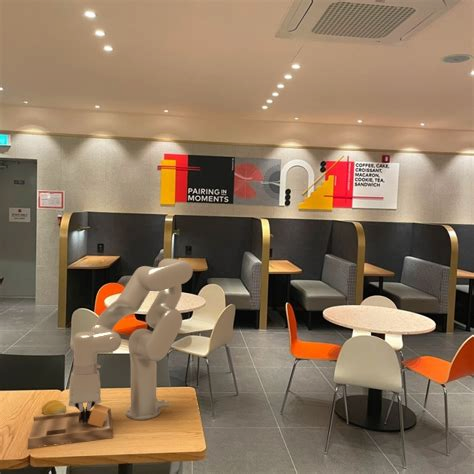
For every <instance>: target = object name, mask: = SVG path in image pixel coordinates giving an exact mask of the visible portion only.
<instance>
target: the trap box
mask: <svg viewBox="0 0 474 474" xmlns="http://www.w3.org/2000/svg"><path fill="white" fill-rule="evenodd" d="M108 408H109V410H108V412H107V415H106V418H105V420H104V423H103V426H102V427H98V426H95V425H92V424H89V423H88V421H89V419H87V423H86V422H84V423H83V420H81V412H80V411H74V412H64V413H63V414H54V415H45V414H44V415H38V416H37V415H35V416H33V422H32V426H31V430H30V433H29V437H28V438H27V449H28V450H29V449H36V448H35V447H38V448H40V447H39V446H44V445H54V444H62V443H70V442H77V443H84V442H83V441H85V442H91V440H93V441H99V440H100V441H101V440H107V439H113V438H114V436H113V435H114V433H113V432H114V431H113V429H114V427H113V420H112V409H111V407H108ZM92 410H93V409H92ZM92 410H91V409H90V415H91V412H92ZM70 444H71V443H70ZM62 445H63V444H62ZM54 446H55V445H54Z"/></svg>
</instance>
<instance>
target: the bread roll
mask: <svg viewBox="0 0 474 474" xmlns="http://www.w3.org/2000/svg"><path fill="white" fill-rule="evenodd" d="M66 411H67V405H66V404H65V403H63V402H62V401H60V400H58V399H53V400H49V401H46V403H45V404H43V406H42V407H41V412H42V414H43V415H44V416H45V415H54V414H62V413H66Z"/></svg>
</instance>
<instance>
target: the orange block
mask: <svg viewBox="0 0 474 474" xmlns="http://www.w3.org/2000/svg"><path fill="white" fill-rule="evenodd" d="M109 408H110V407H109V406H106V405H101V404H100V403H99V404H95V405H94V406H93V407H92V412H91V415H90V418H89V421H88V423H89V424H92V425H95V426H98V427H102V426H103V423H104V420H105V418H106V415H107V412H108V410H109Z"/></svg>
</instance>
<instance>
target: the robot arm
mask: <svg viewBox="0 0 474 474" xmlns="http://www.w3.org/2000/svg"><path fill="white" fill-rule="evenodd" d="M193 272H194V271H193V267H192V265H191V264H190V263H189V262H188V261H186V260H182V259H176V258H163V259H162V260H161V261H160V262H159V263H158V266H157V267H155V266H154V267H152V266H147V265H144V266H143V265H142V266H140V267H138V268H137V269H136V270H135V271H134V272H133V274H132V275H131V277H130V279H129V281H128V282H127V283H126V285H125V287H124V289H123V290H122V292H121V293H120V294H119V296H118V298H117V299H116V300H115V301H113V302H112V303H111V304H110V305H109V306H108V307H106V309H104V310H103V311H102V312H101V313H100V314H99V316H98V317H97V319H96V320H95V322H94V323H93V325H92V327H91V329H90V330H89V331H79V332H78V333H75V334H74V336H73V371H72V372H71V373H70V377H69V378H70V379H69V392H68V393H69V396H68V398H69V401H68V406H69V407H72V408H73V407H75V408H76V409H77V410H78V411H79V412H81V420H83V423H84V422H86V423H87V419H89V418H90V411H91V409H93V408H94V405H95V404H99V405H100V404H101V403H102V397H101V390H102V389H101V375H100V371H99V370H98V369H101V368H102V364H101V363H97V362H98V361H97V354H99V353H100V354H103V353H106V354H107V353H113V352H116V351H117V350H118V349H119V348H120V346H121V345H122V339H121V338H122V337H121V336H120V334H119V333H118V332H116V331H114V330H113V329H114V327H115V326H116V325H117V324H118V323H119V322H120V320H122V319H123V318H125V317H127V316H130V315H133V314H135V313H137V312H138V311H139V310H140V308H142V307H141V306H142V305H143V303H144V302H145V300H146V298H147V297H148V295H149V294H150V293H151V292H158V293H157V295H156V296H155V299H154V301H153V302H152V304H151V306H150V308H149V309H148V311H147V313H146V315H145V322H146V324H147V325H148V326H149V327H150V328H152V329H153V330H149V329H147V328H139V329H136V330H134V331H133V332H132V333H131V334H130V336H129V339H128V343H127V345H128V352H129V359H130V406H129V407H128V408H127V409H126V412H125V413H126V416H127V417H128V418H130V419H132V420H136V421H137V420H138V421H139V420H140V421H143V420H144V421H145V420H149V419H150V420H151V419H153V418H156V417H157V416H159V415H160V413H161V408H169V407H170V402H169V401H165V399H161V400H158V399H157V367H158V366H157V362H158V361H161V360H162V359H163V358H164V357H165V356H166V355H167V354H168V352H169V350H170V349H171V347H172V345H173V343H174V342H175V339H176V337H177V336H178V334H179V332H180V330H181V328H182V325H183V316H182V313H181V312H180V310H178V309H177V307H178V305H179V302H180V300H181V297H182V284H185V283H187V282H188V281H189V280H190V279H191V278H192V276H193ZM150 291H151V292H150ZM84 403H86V407H85V406H84Z"/></svg>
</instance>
